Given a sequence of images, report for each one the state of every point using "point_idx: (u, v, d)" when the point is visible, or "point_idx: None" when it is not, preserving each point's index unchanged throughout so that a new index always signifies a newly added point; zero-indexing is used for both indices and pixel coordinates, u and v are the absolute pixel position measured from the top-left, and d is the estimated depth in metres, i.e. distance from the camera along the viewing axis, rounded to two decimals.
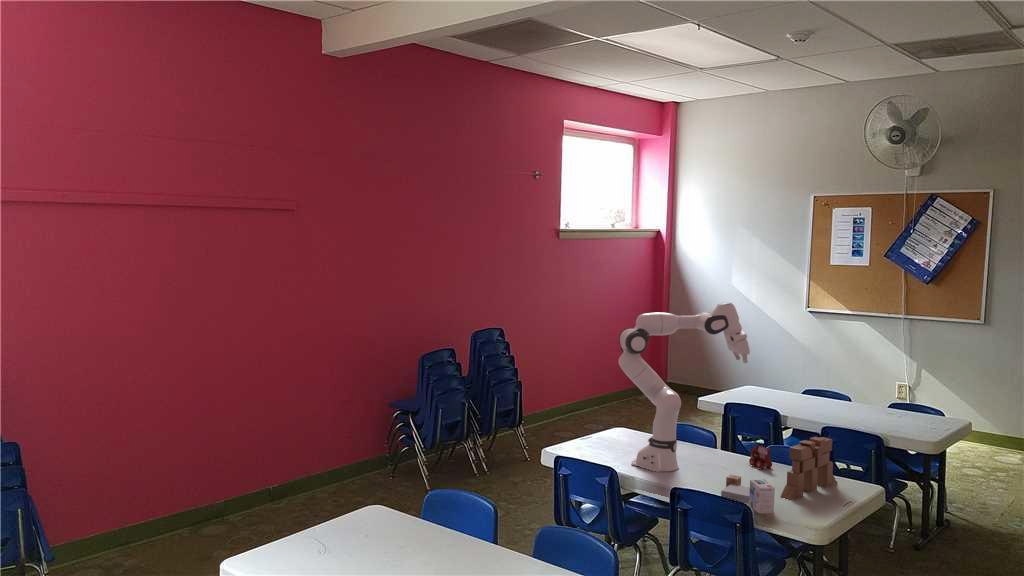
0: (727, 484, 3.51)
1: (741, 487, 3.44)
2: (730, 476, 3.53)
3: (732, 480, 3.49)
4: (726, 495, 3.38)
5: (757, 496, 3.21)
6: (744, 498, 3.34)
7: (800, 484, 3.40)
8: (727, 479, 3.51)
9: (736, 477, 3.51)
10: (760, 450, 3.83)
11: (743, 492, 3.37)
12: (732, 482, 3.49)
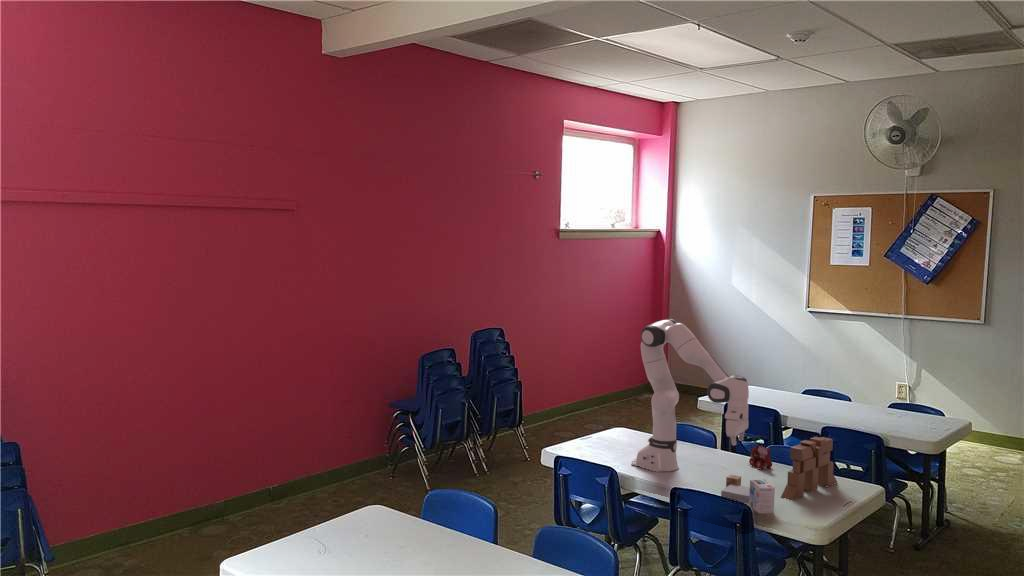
0: (727, 484, 3.51)
1: (741, 487, 3.44)
2: (730, 476, 3.53)
3: (732, 480, 3.49)
4: (726, 495, 3.38)
5: (757, 496, 3.21)
6: (744, 498, 3.34)
7: (801, 484, 3.40)
8: (727, 479, 3.51)
9: (736, 477, 3.51)
10: (760, 450, 3.83)
11: (743, 492, 3.37)
12: (732, 482, 3.49)
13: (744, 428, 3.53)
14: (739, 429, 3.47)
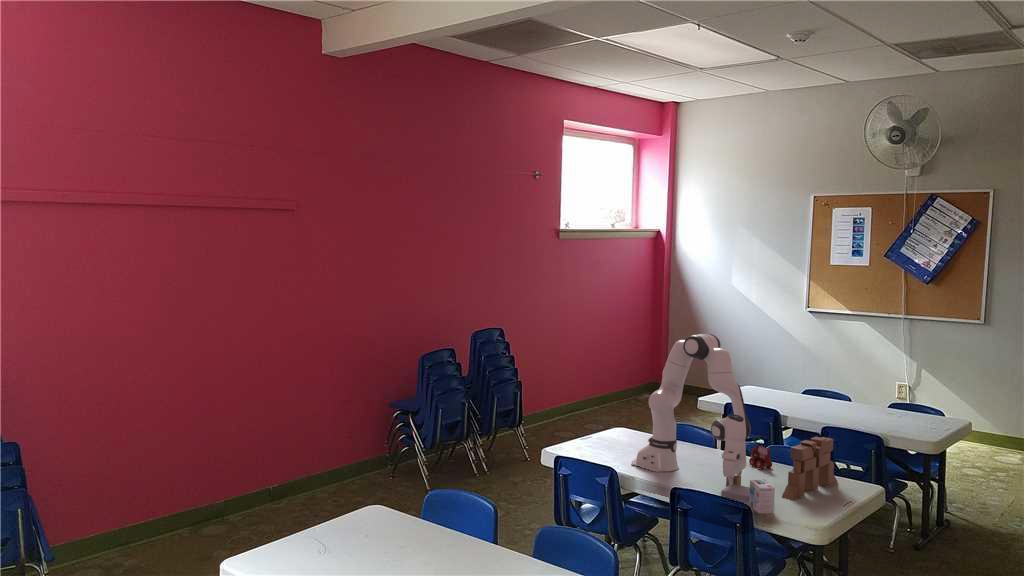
0: (727, 484, 3.51)
1: (741, 487, 3.44)
2: None
3: None
4: (726, 495, 3.38)
5: (757, 496, 3.21)
6: (744, 498, 3.34)
7: (801, 484, 3.40)
8: (727, 479, 3.51)
9: (736, 477, 3.51)
10: (760, 450, 3.83)
11: (743, 492, 3.37)
12: None
13: (742, 467, 3.53)
14: (736, 469, 3.47)
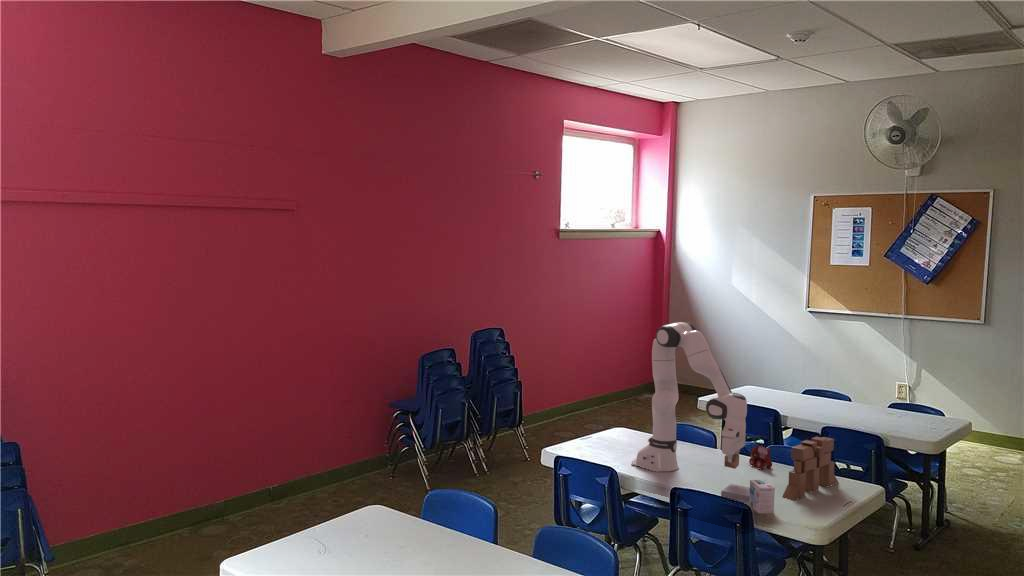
0: (725, 462, 3.51)
1: (741, 487, 3.44)
2: None
3: None
4: (726, 495, 3.38)
5: (757, 496, 3.21)
6: (744, 498, 3.34)
7: (802, 484, 3.40)
8: (725, 457, 3.50)
9: (734, 455, 3.50)
10: (760, 450, 3.83)
11: (743, 492, 3.37)
12: None
13: (740, 446, 3.53)
14: (735, 447, 3.47)
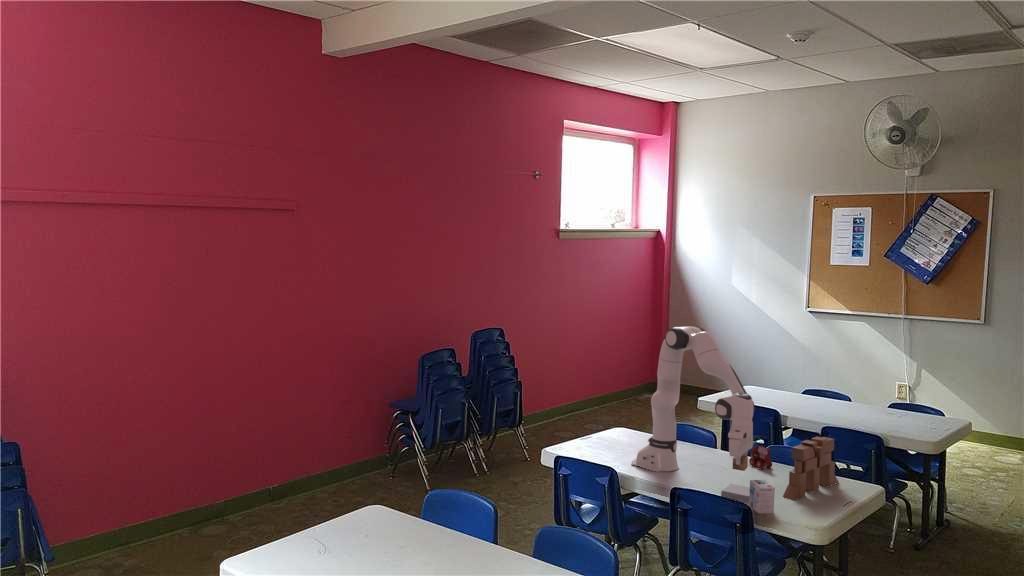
0: (734, 465, 3.39)
1: (741, 487, 3.44)
2: None
3: None
4: (726, 495, 3.38)
5: (757, 496, 3.21)
6: (744, 498, 3.34)
7: (802, 484, 3.40)
8: (733, 460, 3.39)
9: (743, 457, 3.39)
10: (760, 450, 3.83)
11: (743, 492, 3.37)
12: None
13: (748, 447, 3.42)
14: (742, 449, 3.36)
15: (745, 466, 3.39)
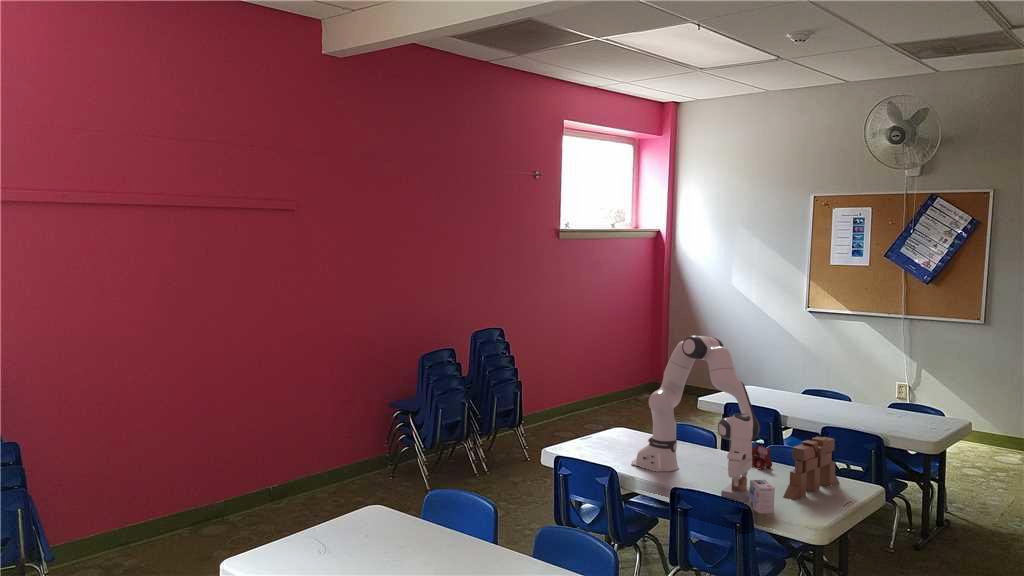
0: (733, 486, 3.40)
1: None
2: None
3: None
4: (726, 495, 3.38)
5: (757, 496, 3.21)
6: (744, 498, 3.34)
7: (803, 483, 3.40)
8: (733, 480, 3.40)
9: (742, 478, 3.40)
10: (760, 450, 3.83)
11: (743, 492, 3.37)
12: None
13: (747, 468, 3.42)
14: (742, 470, 3.36)
15: (744, 487, 3.39)
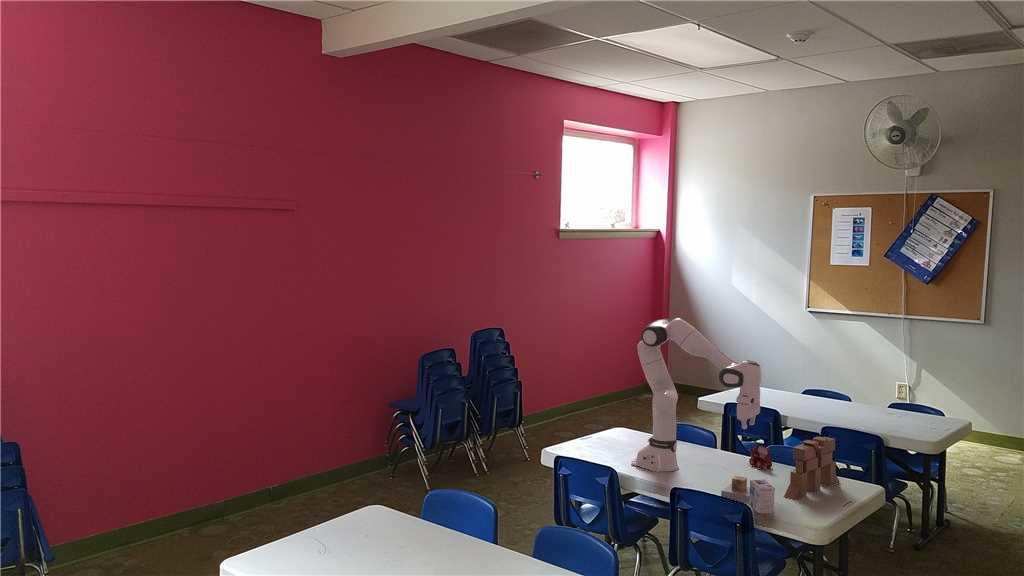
0: (733, 486, 3.40)
1: None
2: (735, 477, 3.42)
3: (738, 482, 3.39)
4: (726, 495, 3.38)
5: (757, 496, 3.21)
6: (744, 498, 3.34)
7: (804, 483, 3.40)
8: (733, 480, 3.40)
9: (742, 478, 3.40)
10: (760, 450, 3.83)
11: (743, 492, 3.37)
12: (738, 484, 3.39)
13: (755, 413, 3.57)
14: (750, 413, 3.51)
15: (744, 487, 3.39)
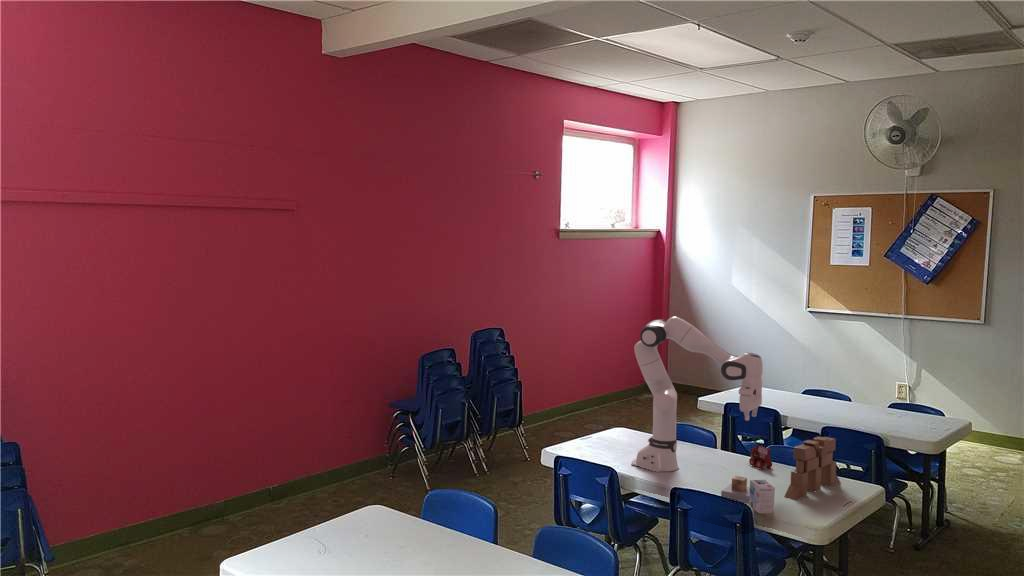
0: (733, 486, 3.40)
1: None
2: (735, 477, 3.42)
3: (738, 482, 3.39)
4: (726, 495, 3.38)
5: (757, 496, 3.21)
6: (744, 498, 3.34)
7: (804, 483, 3.40)
8: (733, 480, 3.40)
9: (742, 478, 3.40)
10: (760, 450, 3.83)
11: (743, 492, 3.37)
12: (738, 484, 3.39)
13: (757, 404, 3.62)
14: (752, 405, 3.56)
15: (744, 487, 3.39)
